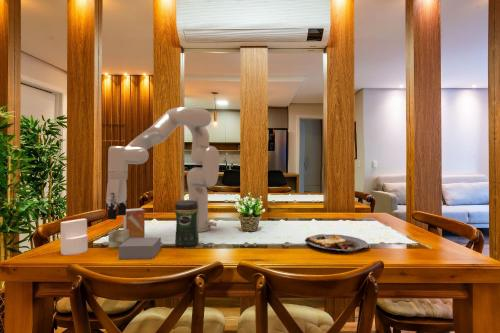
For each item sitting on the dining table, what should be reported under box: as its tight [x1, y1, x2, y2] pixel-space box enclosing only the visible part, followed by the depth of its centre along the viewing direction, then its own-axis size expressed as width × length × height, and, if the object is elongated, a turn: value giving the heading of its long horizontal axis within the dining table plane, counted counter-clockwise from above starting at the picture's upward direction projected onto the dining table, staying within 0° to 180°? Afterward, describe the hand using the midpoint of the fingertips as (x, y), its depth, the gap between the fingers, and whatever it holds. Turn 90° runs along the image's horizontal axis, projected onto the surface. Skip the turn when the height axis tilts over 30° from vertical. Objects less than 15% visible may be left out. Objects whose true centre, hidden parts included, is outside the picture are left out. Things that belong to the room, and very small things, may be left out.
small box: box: [122, 207, 146, 238], centre depth 139 cm, size 8×6×13 cm
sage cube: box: [107, 229, 129, 248], centre depth 127 cm, size 6×6×6 cm
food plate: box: [304, 233, 369, 253], centre depth 127 cm, size 25×23×4 cm
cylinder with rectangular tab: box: [60, 218, 88, 256], centre depth 119 cm, size 9×9×12 cm
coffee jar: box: [174, 199, 200, 247], centre depth 129 cm, size 10×8×19 cm
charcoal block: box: [118, 236, 162, 260], centre depth 116 cm, size 12×12×5 cm
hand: (117, 217), depth 127 cm, fingers open, 9 cm apart
